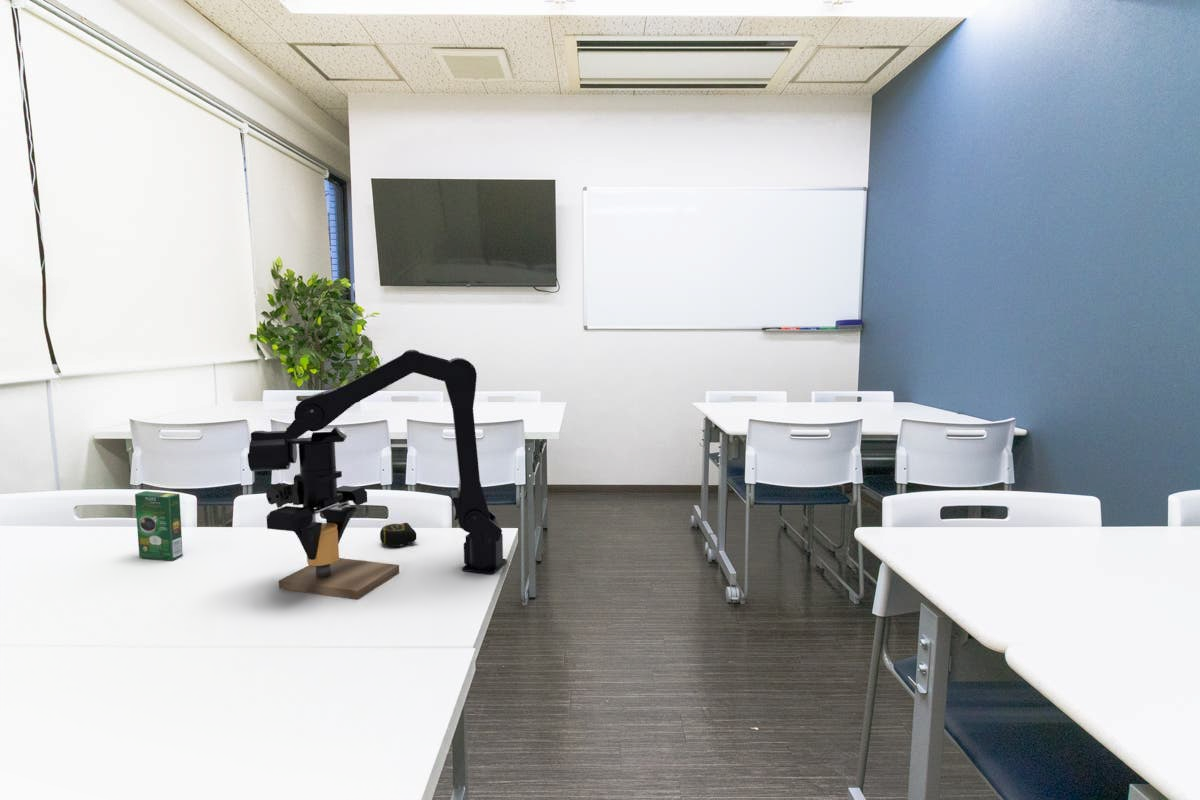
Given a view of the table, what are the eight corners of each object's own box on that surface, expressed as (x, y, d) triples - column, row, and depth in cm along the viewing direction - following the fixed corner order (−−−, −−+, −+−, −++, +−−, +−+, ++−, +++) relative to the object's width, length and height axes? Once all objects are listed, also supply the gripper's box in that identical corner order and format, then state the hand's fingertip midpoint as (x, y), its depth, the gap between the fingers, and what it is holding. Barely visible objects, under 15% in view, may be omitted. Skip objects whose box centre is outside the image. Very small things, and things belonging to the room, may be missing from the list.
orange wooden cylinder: (344, 556, 112) (343, 524, 111) (325, 567, 107) (323, 533, 106) (321, 553, 113) (319, 522, 112) (300, 564, 108) (298, 530, 107)
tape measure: (417, 546, 130) (417, 528, 130) (383, 551, 127) (382, 533, 126) (410, 536, 136) (410, 520, 136) (378, 541, 133) (377, 524, 132)
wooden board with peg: (399, 572, 115) (398, 538, 115) (357, 599, 104) (355, 562, 103) (326, 563, 120) (325, 531, 119) (279, 588, 108) (276, 552, 107)
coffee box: (185, 556, 124) (180, 492, 122) (173, 561, 121) (168, 496, 120) (151, 553, 125) (146, 490, 124) (138, 558, 123) (132, 493, 121)
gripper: (317, 454, 119) (321, 533, 121) (236, 476, 101) (242, 568, 103) (367, 457, 116) (370, 538, 118) (292, 481, 98) (298, 575, 100)
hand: (322, 553), depth 110 cm, fingers closed on orange wooden cylinder, 5 cm apart
